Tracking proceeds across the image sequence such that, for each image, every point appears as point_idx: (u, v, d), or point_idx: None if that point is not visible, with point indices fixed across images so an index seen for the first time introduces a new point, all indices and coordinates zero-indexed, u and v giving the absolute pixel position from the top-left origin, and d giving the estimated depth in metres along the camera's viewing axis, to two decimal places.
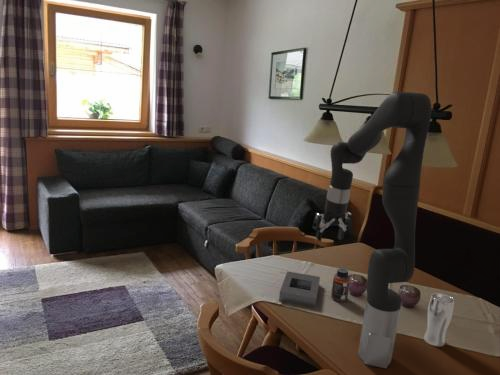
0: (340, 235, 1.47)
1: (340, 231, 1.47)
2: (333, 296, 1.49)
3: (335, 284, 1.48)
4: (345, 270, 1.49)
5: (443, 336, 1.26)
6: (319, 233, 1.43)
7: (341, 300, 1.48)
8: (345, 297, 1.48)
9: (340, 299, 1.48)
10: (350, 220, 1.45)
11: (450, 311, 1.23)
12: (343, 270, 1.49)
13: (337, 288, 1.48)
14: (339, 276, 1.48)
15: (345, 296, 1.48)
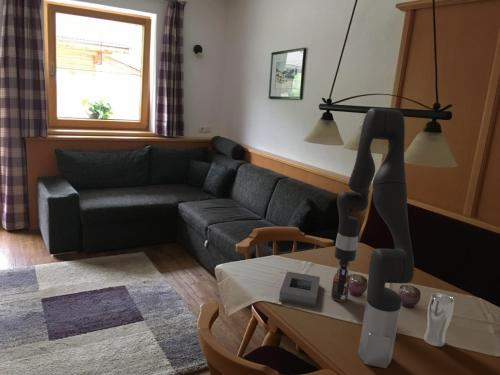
0: None
1: None
2: (333, 296, 1.49)
3: (335, 284, 1.48)
4: None
5: (443, 336, 1.26)
6: (343, 285, 1.46)
7: (341, 300, 1.48)
8: (345, 297, 1.48)
9: (340, 299, 1.48)
10: None
11: (450, 311, 1.23)
12: None
13: (337, 288, 1.48)
14: None
15: (345, 296, 1.48)
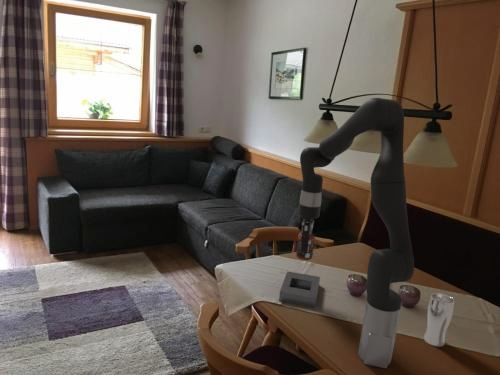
0: None
1: None
2: (298, 255, 1.48)
3: (299, 242, 1.47)
4: None
5: (443, 336, 1.26)
6: (307, 243, 1.44)
7: (305, 258, 1.47)
8: (309, 255, 1.47)
9: (304, 257, 1.47)
10: None
11: (450, 311, 1.23)
12: None
13: (301, 246, 1.46)
14: None
15: (310, 255, 1.47)
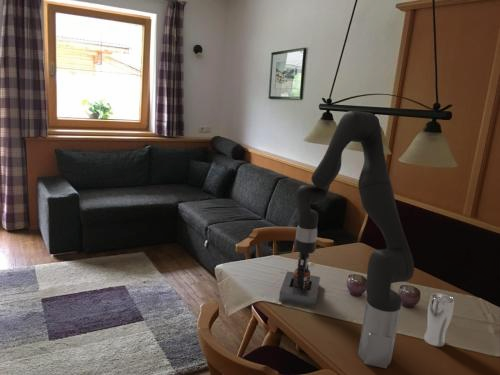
0: None
1: None
2: None
3: (295, 278, 1.50)
4: None
5: (443, 336, 1.26)
6: (302, 277, 1.46)
7: None
8: None
9: None
10: None
11: (450, 311, 1.23)
12: None
13: None
14: None
15: None
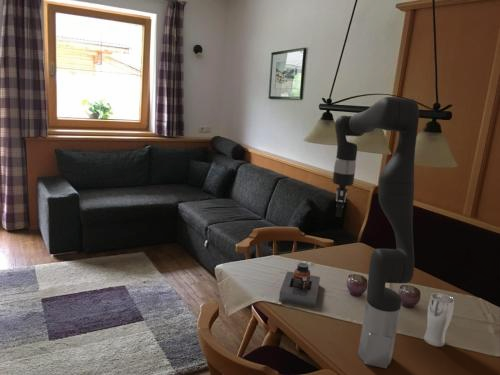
0: None
1: (340, 203, 1.56)
2: None
3: (295, 278, 1.50)
4: (305, 265, 1.51)
5: (443, 336, 1.26)
6: (341, 209, 1.47)
7: None
8: None
9: None
10: None
11: (450, 311, 1.23)
12: (303, 264, 1.51)
13: (297, 282, 1.50)
14: (299, 270, 1.50)
15: None
